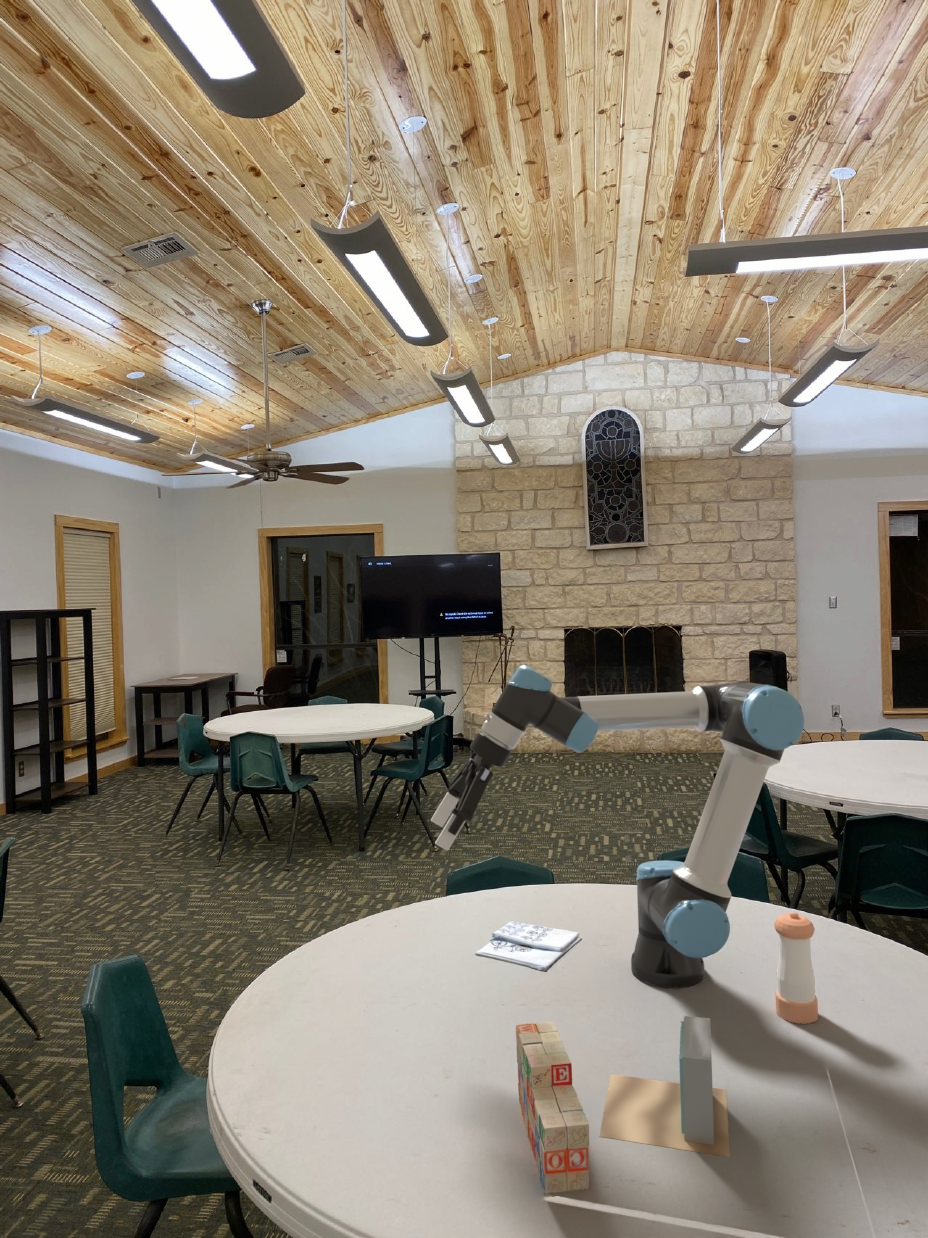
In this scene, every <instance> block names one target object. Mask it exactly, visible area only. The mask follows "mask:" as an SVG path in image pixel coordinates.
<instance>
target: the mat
mask: <svg viewBox="0 0 928 1238" xmlns="http://www.w3.org/2000/svg"><path fill="white" fill-rule="evenodd" d="M608 1083H609V1084H608V1089H607V1093H606V1099H605V1104H604V1110H603V1114H602V1120H601V1127H600V1131H599V1135H598V1136H599V1138H605V1139H610V1140H611V1139H612V1140H617V1141H625V1142H631V1143H637V1144H642V1145H643V1144H644V1145H651V1146H654V1147H655V1146H656V1147H663V1148H670V1149H676V1150H680V1151H689V1152H694V1153H701V1154H707V1155H714V1156H720V1157H724V1158H725V1157H726V1158H731V1151H730V1137H729V1119H728V1103H727V1089H723V1088H716V1087H712V1090H713V1123H714V1145H710V1144H704V1143H697V1142H691V1141H685V1134H683V1133H682V1129H681V1096H680V1082H679V1083H678V1082H673V1081H672V1082H671V1081H666V1080H665V1081H663V1080H658V1079H657V1080H656V1079H648V1078H644V1077H643V1078H640V1077H635V1076H626V1075H619V1074H613V1073H612V1074H610V1077H609V1081H608Z"/></svg>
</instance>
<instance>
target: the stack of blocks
mask: <svg viewBox="0 0 928 1238" xmlns="http://www.w3.org/2000/svg"><path fill="white" fill-rule="evenodd" d="M515 1038H516V1040H515V1041H516V1063H517V1078H518V1082H517V1088H518V1089H517V1090H518V1102H519V1105H520V1111H521V1116H522V1119H523V1124H524V1127H525V1132H526V1134H527V1137H528V1139H529V1143H530V1147H531V1151H533V1156H534V1160H535V1166H536V1170H537V1174H538V1177H539V1181H540V1184H541V1188H542V1189H544V1192H543V1195H544V1197H547V1198H549V1197H558V1195H555V1194H552V1193H560V1192H570V1191H571V1192H572V1191H581V1190H589V1189H590V1175H589V1174H590V1155H589V1151H590V1149H589V1148H590V1126H589V1121H588V1119H587V1117H586V1114H585V1113H584V1108H583V1106H582V1105H581V1102H580V1098H579V1097H578V1094H577V1091H576V1090H575V1088H574V1085H573V1070H572V1069H573V1067H572V1061H571V1059H570V1057H569V1054H568V1052H567V1051H566V1048H565V1047H564V1044H563V1040H562V1038H561V1036H560V1034H559V1031H558V1027H557V1026H556V1023H555V1021H545V1022H534V1023H533V1022H532V1023H531V1022H530V1023H522V1024H516V1025H515Z"/></svg>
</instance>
